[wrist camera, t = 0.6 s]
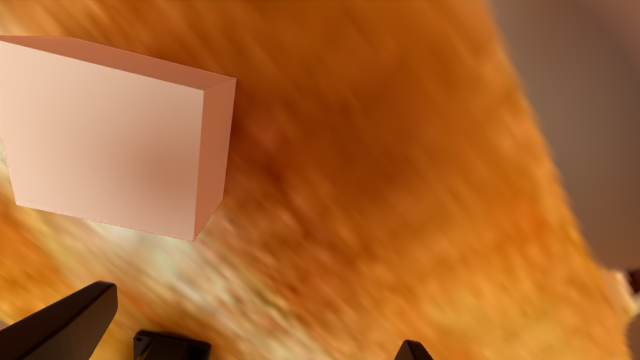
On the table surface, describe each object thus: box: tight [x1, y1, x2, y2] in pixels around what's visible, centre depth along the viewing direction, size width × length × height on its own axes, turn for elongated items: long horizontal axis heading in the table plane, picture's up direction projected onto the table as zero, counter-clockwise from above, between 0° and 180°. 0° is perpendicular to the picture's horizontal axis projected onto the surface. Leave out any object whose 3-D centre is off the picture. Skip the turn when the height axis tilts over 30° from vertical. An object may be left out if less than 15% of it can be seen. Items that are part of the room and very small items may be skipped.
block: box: [0, 36, 237, 242], centre depth 16 cm, size 8×9×5 cm
